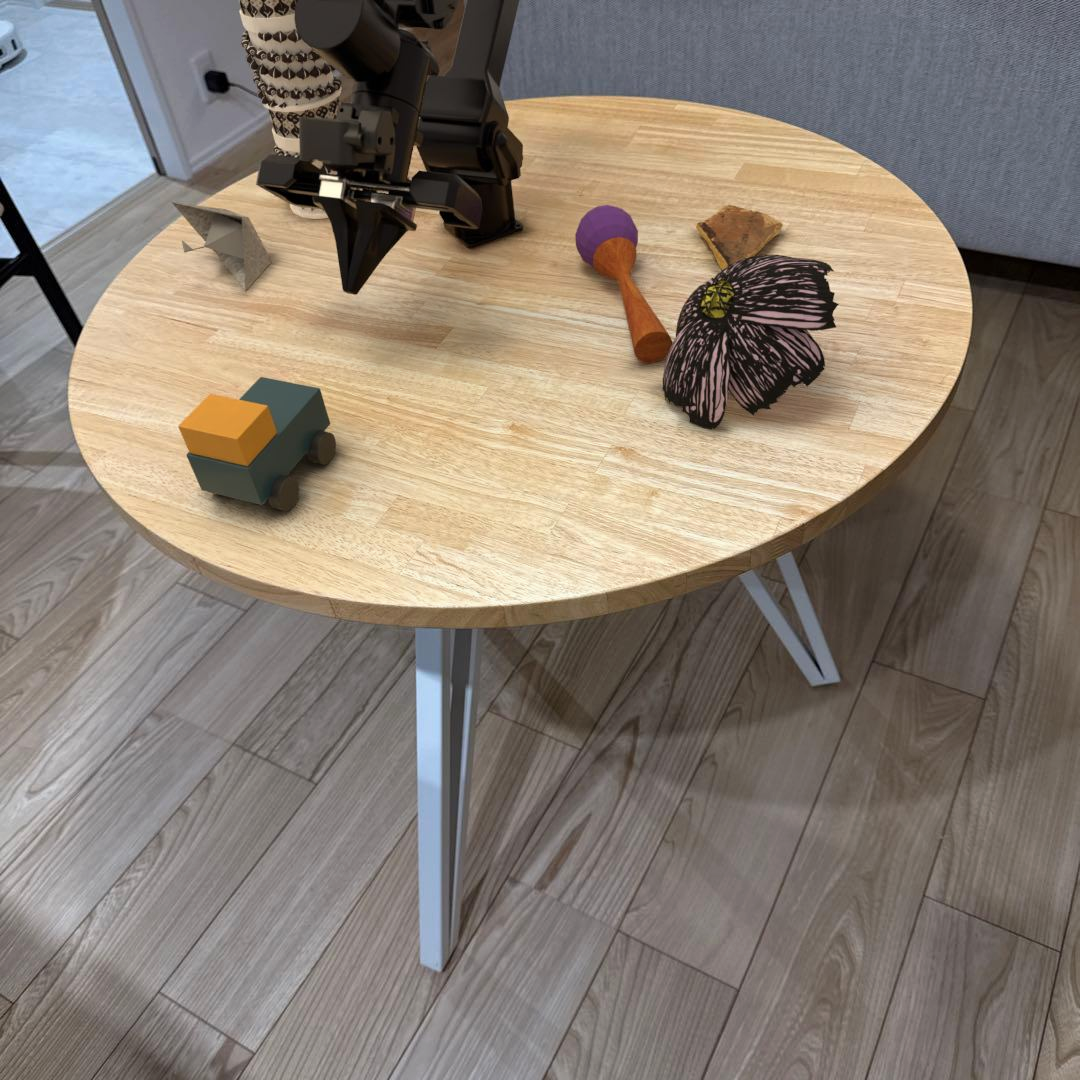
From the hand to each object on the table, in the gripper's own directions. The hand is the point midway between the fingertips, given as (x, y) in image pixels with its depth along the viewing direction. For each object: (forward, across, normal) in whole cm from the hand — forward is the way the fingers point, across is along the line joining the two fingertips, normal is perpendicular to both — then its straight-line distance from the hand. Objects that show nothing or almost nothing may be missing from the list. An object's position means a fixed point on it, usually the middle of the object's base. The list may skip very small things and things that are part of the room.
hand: (349, 293), depth 84 cm
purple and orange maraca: (-5, +19, +16) cm, 26 cm away
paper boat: (-3, -23, +14) cm, 27 cm away
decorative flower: (+1, +32, +10) cm, 34 cm away
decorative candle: (-13, -20, +24) cm, 34 cm away
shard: (-14, +28, +25) cm, 40 cm away
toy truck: (+10, 0, -5) cm, 11 cm away
